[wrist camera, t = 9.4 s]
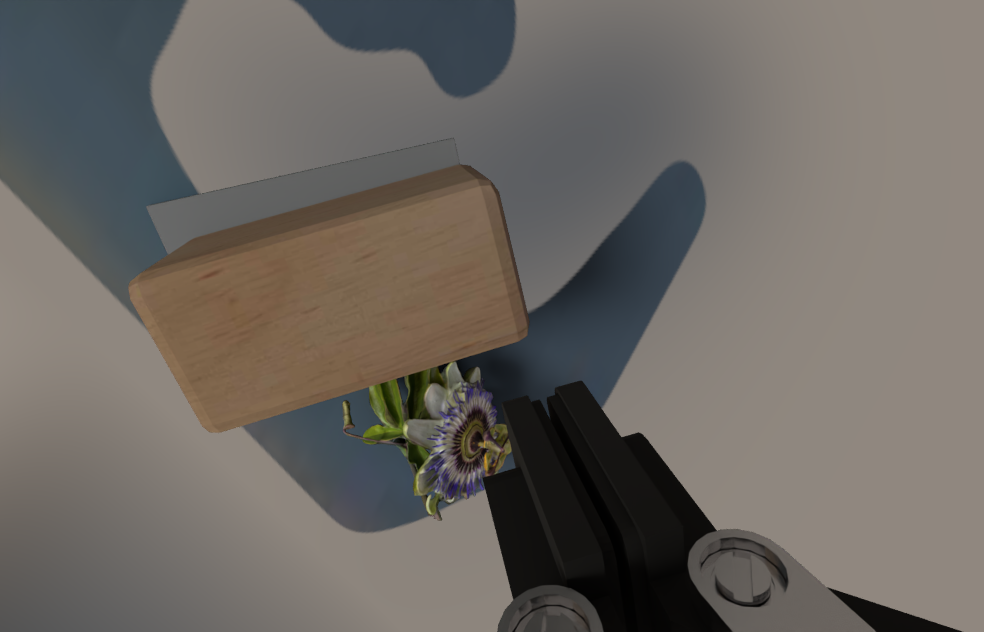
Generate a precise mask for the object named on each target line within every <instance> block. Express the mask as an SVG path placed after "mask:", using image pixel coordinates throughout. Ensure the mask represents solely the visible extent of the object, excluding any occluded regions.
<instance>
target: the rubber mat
mask: <svg viewBox="0 0 984 632" xmlns="http://www.w3.org/2000/svg"><path fill="white" fill-rule="evenodd" d="M458 164H460V163H459V159H458V154H457V149H456V144H455V140H454V138H450V139H446V140H441V141H437V142H433V143H428V144H423V145H419V146H414V147H410V148H406V149H401V150H397V151H392V152H387V153H383V154H379V155H374V156H370V157H365V158H361V159H356V160H351V161H347V162H342V163H338V164H333V165H329V166H325V167H320V168H315V169H311V170H306V171H302V172H297V173H293V174H288V175H284V176H279V177H275V178H270V179H266V180H261V181H257V182H252V183H247V184H243V185H238V186H234V187H230V188H225V189H221V190H216V191H211V192H207V193H202V194H198V195H193V196H189V197H184V198H180V199H175V200H171V201H166V202H162V203H157V204H153V205H149V206H146V208H147V210H148V212H149V214H150V216H151V218H152V221H153V223H154V225H155V227H156V229H157V232H158V234H159V236H160V238H161V240H162V242H163V245H164V247H165V249H166V251H167V253H168V255H169V254H170V253H172V252H173V251H175V250H176V249H178V248H179V247H181V246H182V245H184V244H185V243H187V242H188V241H190V240H191V239H193V238H196V237H199V236H203V235H206V234H210V233H214V232H217V231H221V230H224V229H228V228H232V227H235V226H239V225H242V224H246V223H250V222H253V221H257V220H260V219H264V218H268V217H271V216H275V215H278V214H282V213H286V212H289V211H293V210H296V209H300V208H304V207H307V206H311V205H314V204H318V203H322V202H325V201H329V200H332V199H336V198H340V197H343V196H347V195H350V194H354V193H358V192H361V191H365V190H368V189H372V188H376V187H379V186H383V185H386V184H390V183H394V182H397V181H401V180H404V179H408V178H412V177H415V176H419V175H422V174H426V173H430V172H433V171H437V170H440V169H444V168H447V167H451V166H455V165H458Z"/></svg>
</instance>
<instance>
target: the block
mask: <svg viewBox="0 0 984 632" xmlns="http://www.w3.org/2000/svg"><path fill="white" fill-rule="evenodd" d="M128 288H129V294H130V299H131V301H132V303H133V305H134V306H135V308H136V310H137V312H138V313H139V315H140V317H141V319H142V321H143V322H144V324H145V326H146V328H147V329H148V331H149V333H150V335H151V336H152V338H153V340H154V342H155V344H156V345H157V347H158V349H159V351H160V352H161V354H162V356H163V358H164V359H165V361H166V363H167V365H168V367H169V368H170V370H171V372H172V373H173V375H174V377H175V379H176V381H177V382H178V384H179V386H180V388H181V389H182V391H183V393H184V395H185V397H186V398H187V400H188V402H189V404H190V405H191V407H192V409H193V411H194V412H195V414H196V416H197V418H198V420H199V421H200V423H201V425H202V426H203V427H204V428H205V429H206V430H207V431H209V432H223V431H227V430H230V429H233V428H236V427H240V426H243V425H246V424H250V423H253V422H256V421H259V420H263V419H266V418H269V417H272V416H276V415H279V414H282V413H286V412H289V411H292V410H295V409H299V408H302V407H305V406H308V405H312V404H315V403H318V402H322V401H325V400H328V399H331V398H335V397H338V396H341V395H344V394H348V393H351V392H354V391H357V390H361V389H364V388H367V387H371V386H374V385H377V384H380V383H384V382H387V381H390V380H393V379H397V378H400V377H403V376H407V375H410V374H413V373H416V372H420V371H423V370H426V369H429V368H433V367H436V366H439V365H442V364H446V363H449V362H452V361H456V360H459V359H462V358H465V357H469V356H472V355H475V354H478V353H482V352H485V351H488V350H492V349H495V348H498V347H501V346H505V345H508V344H511V343H514V342H518V341H520V340H521V339H523V338H524V337H526V336H527V332H528V327H529V317H528V313H527V309H526V305H525V301H524V296H523V292H522V288H521V283H520V279H519V275H518V271H517V266H516V262H515V258H514V254H513V250H512V245H511V241H510V237H509V233H508V228H507V224H506V220H505V216H504V211H503V207H502V203H501V199H500V195H499V192H498V190H497V189H496V188H495V186H494V185H493V183H492V182H491V181H490V180H489V179H488V178H486V177H485V176H483V175H482V174H481V173H479V172H478V171H476V170H475V169H474V168H472V167H471V166H467V165H460V164H458V165H455V166H451V167H447V168H444V169H440V170H437V171H433V172H430V173H426V174H422V175H419V176H415V177H412V178H408V179H404V180H401V181H397V182H394V183H390V184H386V185H383V186H379V187H376V188H372V189H368V190H365V191H361V192H358V193H354V194H350V195H347V196H343V197H340V198H336V199H332V200H329V201H325V202H322V203H318V204H314V205H311V206H307V207H304V208H300V209H296V210H293V211H289V212H286V213H282V214H278V215H275V216H271V217H268V218H264V219H260V220H257V221H253V222H250V223H246V224H242V225H239V226H235V227H232V228H228V229H224V230H221V231H217V232H214V233H210V234H206V235H203V236H199V237H196V238H193V239H191V240H190V241H188V242H187V243H185V244H184V245H182V246H181V247H179V248H178V249H176V250H175V251H173V252H172V253H170V254H169V255H167V256H166V257H164V258H163V259H161V260H160V261H158V262H157V263H155V264H154V265H152V266H151V267H149V268H148V269H146V270H145V271H143V272H142V273H140V274H139V275H138V276H137V277H136V278H134V279H133V280H132V281H131V282H130V283H129V287H128Z"/></svg>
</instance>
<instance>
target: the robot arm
mask: <svg viewBox="0 0 984 632" xmlns="http://www.w3.org/2000/svg"><path fill="white" fill-rule="evenodd" d="M547 404H548V409H549V415H550V418H549V416H548V414H547V413H546V411H545V409H544V407H543V405H542V403H541V401H540V400H536V401H532V402H531V401H530V399H529V397H528V396H524V397H520V398H516V399H513V400H509V401H506V402H502V409H503V414H504V418H505V423H506V427H507V431H508V436H509V440H510V444H511V449H512V453H513V457H514V462H515V466H516V468H515V469H511V470H508V471H504V472H501V473H498V474H494V475H491V476H487V477H484V478H483V482H484V486H485V490H486V494H487V497H488V501H489V505H490V509H491V513H492V517H493V521H494V525H495V529H496V533H497V537H498V541H499V545H500V549H501V553H502V557H503V561H504V565H505V569H506V573H507V576H508V580H509V584H510V588H511V592H512V596H513V601H512V602H511V604H510V605H509V606H508V607H507V608H506V609H505V611H504V613H503V615H502V618H501V620H500V622H499V624H498V631H497V632H962V631H959V630H955V629H953V628H950V627H947V626H943V625H940V624H937V623H935V622H931V621H928V620H925V619H922V618H919V617H916V616H913V615H910V614H907V613H904V612H901V611H898V610H895V609H891V608H888V607H886V606H882V605H879V604H876V603H873V602H870V601H867V600H864V599H861V598H858V597H855V596H852V595H848V594H846V593H843V592H840V591H837V590H834V589H831V588H827V587H825V586H824V585H823V584H822V583H821V582H820V581H819V580H818V579H817V578H816V577H814V576H813V575H812V574H811V573H810V572H809V571H808V570H806V569H805V568H804V567H803V566H802V565H801V564H800V563H799V562H797V561H796V560H795V559H794V558H793V557H792V556H791V555H790V554H789V553H788V552H786V551H785V550H784V549H783V548H781V547H780V546H779V545H777V544H776V543H774V542H773V541H771V540H770V539H768V538H765V537H763V536H761V535H759V534H756V533H753V532H749V531H744V530H739V529H726V530H718V531H717V530H716V529H715V528H714V526H713V525H712V524H711V522H710V521H709V520H708V519H707V517H706V516H705V515H704V513H703V512H702V511H701V509H700V508H699V507H698V505H697V504H696V503H695V501H694V500H693V499H692V498H691V496H690V495H689V494H688V492H687V491H686V490H685V488H684V487H683V486H682V484H681V483H680V482H679V481H678V479H677V478H676V477H675V475H674V474H673V473H672V471H671V470H670V469H669V467H668V466H667V465H666V463H665V462H664V461H663V460H662V458H661V457H660V456H659V454H658V453H657V452H656V451H655V449H654V448H653V446H652V445H651V444H650V443H649V441H648V440H647V439H646V438H645V437H644V435H643V434H641V433H635V434H632V435H628V436H625V437H621V436H620V435H619V433H618V432H617V430H616V429H615V427H614V426H613V425H612V423H611V422H610V420H609V419H608V417H607V416H606V415H605V413H604V411H603V410H602V409H601V407H600V406H599V404H598V403H597V401H596V400H595V398H594V397H593V396H592V394H591V393H590V391H589V390H588V388H587V387H586V385H585V384H584V383H583V382H582V381H577V382H574V383H570V384H567V385H563V386H559V387H556V388H555V395H554V396H550V397H547Z"/></svg>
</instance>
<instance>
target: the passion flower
mask: <svg viewBox="0 0 984 632" xmlns="http://www.w3.org/2000/svg"><path fill="white" fill-rule="evenodd" d="M480 378H481V377H480V369H479V367H473V368H470V369H468V370H467V371H466V372H465V374H464V376H463V378H462V377H461V373H460V371H459V369H458V366H457V364H456V362H455V361H452V362H450V363H449V364H448V365H447V366H446V367H445V368H444V370H443V372H442V373H440V371H439V368H438V366H436V367H433V368H429V369H426V370H423V371H420V372H416V373H413V374H410V375H407V376H404V380H405V385H406V387H407V389H408V397H407V400H406V402H405V403H404V404H403V400H402V398H401V393H400V391H399V386H398V381H397V379H393V380H390V381H387V382H384V383H380V384H377V385H374V386H371V387H369V400H370V405H371V407H372V409H373V410H374V412H375V414H376V415H377V416H378V417H379V419H380V421H381V422H382V424H383V425H384V426H382V425H380V424H378V425H376V426H372V427H370V428H369V429H367V430H366V432H365V433H364V435H363V437H361V436H358V435H352V434H350V433H347V432H346V429H350V428H353V427H355V425H354V424H353V423H352V419H351V415H350V403H349V402H348V401H347V400H345V401H344V402H343V404H342V406H343V419H344V422H345V424H344V428H343V432H344V433H345V434H346V435H348V436H352V437H356V438H359V439H362V440H363V442H364V443H366V444H387V445H395V446H397V447H398V448H399V449H400V451H401V452H402V453H403V454H404V456H405V457H406V458H407V460H408V463H409V464H410V468H411V470H412V473H413V476H414V478H415V479H414V483H413V490H414V495H420V496H421V497H422V501H423V503H424V506H425V508H426V510H427V512H428V515H430V516H432V517H433V516H434V519H437V520H438V521H441V520H442V518H441V515H440V512H439V511H438V507H437V506H438V503H439V502H440V501H444V502H446V503H447V504H451V503H454V502H455V501H456V500H457V499H460V496H464V498H465V499H468V498H469V494H472V493H473V495H474V496H476V494H475V490H476V488H480V489H482V490H484V488H483V486H482V484H481V478H484V477H487V476H491V475H494V474H498V473H499V471H498V470H499V469H500V468H501V467H502V466H503V464H504V460H505V457H506V456H507V454H509V453H510V452H511V444H510V441H509V436H508V431H507V427H506V425H505V424H496V421H497V420H496V415H497V411H496V409H495V408H496V406H493V405H492V404H491V401H492V399H493V395H492V393H491V392H487V391H486V390H485V389H482V388H483V384H484V381H485V379H484V380H483V382H482V379H483V377H482V379H481V383H480ZM481 384H482V385H481ZM420 414H421V415H420ZM419 417H420V419H419ZM392 441H393V442H392ZM425 449H429V450H431V453H429V452H428V451H427V450H425ZM416 468H417V469H416ZM417 470H418V472H417ZM431 491H435V496H434V498H433V499H431V495H429V496H427V495H426V494H427V493H428V492H431Z"/></svg>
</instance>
